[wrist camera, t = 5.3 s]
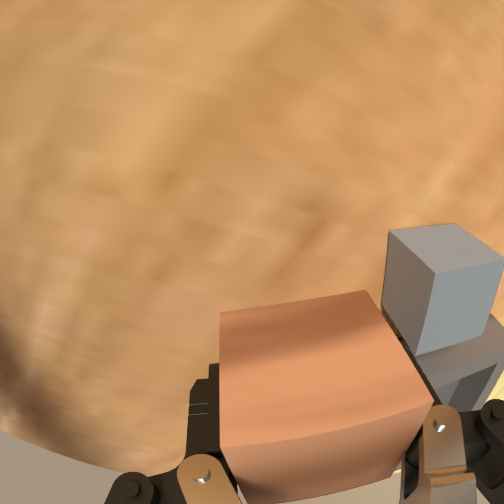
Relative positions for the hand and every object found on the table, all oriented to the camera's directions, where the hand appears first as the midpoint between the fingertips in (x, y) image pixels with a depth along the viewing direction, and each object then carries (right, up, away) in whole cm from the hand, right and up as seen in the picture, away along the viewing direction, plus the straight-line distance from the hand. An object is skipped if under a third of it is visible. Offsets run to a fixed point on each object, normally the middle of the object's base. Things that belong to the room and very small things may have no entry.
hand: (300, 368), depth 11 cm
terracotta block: (0, 0, +1) cm, 1 cm away
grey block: (+9, +3, +7) cm, 12 cm away
